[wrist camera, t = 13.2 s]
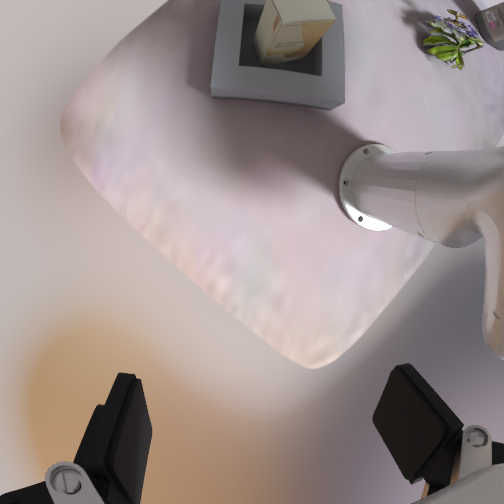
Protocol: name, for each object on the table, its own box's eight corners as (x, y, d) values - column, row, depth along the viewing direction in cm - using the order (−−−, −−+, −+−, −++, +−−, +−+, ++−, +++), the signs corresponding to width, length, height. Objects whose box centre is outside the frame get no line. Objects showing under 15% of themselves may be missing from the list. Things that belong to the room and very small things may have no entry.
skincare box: (261, 66, 32) (278, 24, 20) (251, 41, 30) (264, -7, 19) (306, 59, 32) (339, 19, 20) (296, 34, 31) (323, -11, 19)
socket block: (330, 19, 31) (341, 4, 26) (330, 110, 35) (344, 102, 30) (222, 4, 29) (223, -14, 24) (211, 98, 33) (210, 87, 28)
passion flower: (418, 36, 37) (458, 11, 27) (450, 79, 38) (493, 56, 28) (404, 26, 31) (451, -5, 21) (443, 77, 32) (494, 49, 22)
